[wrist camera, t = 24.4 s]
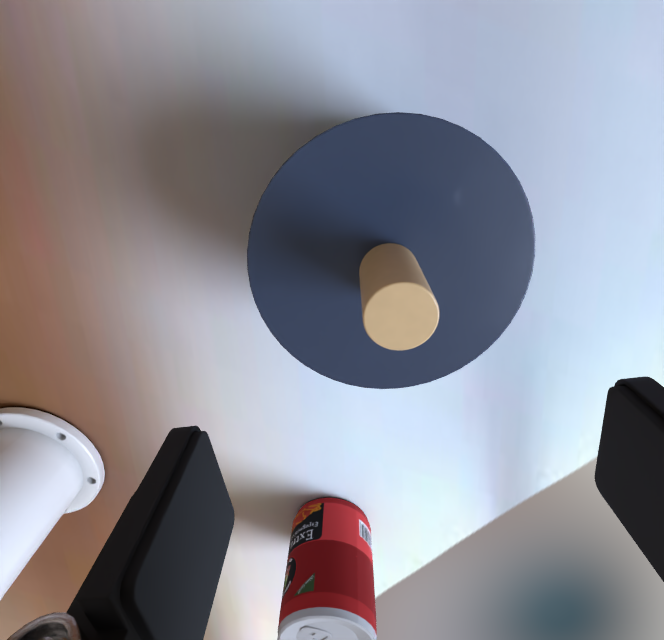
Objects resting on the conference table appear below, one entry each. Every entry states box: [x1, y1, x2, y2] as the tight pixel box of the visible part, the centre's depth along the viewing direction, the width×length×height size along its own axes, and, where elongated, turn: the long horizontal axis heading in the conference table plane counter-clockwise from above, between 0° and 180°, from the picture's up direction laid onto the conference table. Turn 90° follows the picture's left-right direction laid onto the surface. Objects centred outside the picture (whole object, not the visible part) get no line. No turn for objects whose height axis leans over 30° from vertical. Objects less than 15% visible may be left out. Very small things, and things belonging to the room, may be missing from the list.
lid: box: [247, 112, 535, 389], centre depth 18 cm, size 14×14×6 cm
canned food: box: [277, 498, 377, 640], centre depth 37 cm, size 8×8×11 cm
